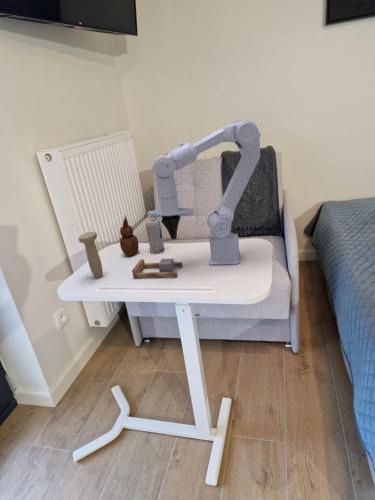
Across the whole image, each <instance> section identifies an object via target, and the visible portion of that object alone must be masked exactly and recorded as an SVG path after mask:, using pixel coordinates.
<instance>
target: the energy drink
mask: <svg viewBox="0 0 375 500" xmlns="http://www.w3.org/2000/svg"><path fill="white" fill-rule="evenodd" d="M145 230H146V234H147V235H146V236H147V240H148V245H149V249H150V253H151V254H160V253H162V252H164V251H165V245H164V239H163V231H162V227H161V222H160V220H159V218H150V219H148V220H146V221H145Z"/></svg>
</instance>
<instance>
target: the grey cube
mask: <svg viewBox="0 0 375 500" xmlns="http://www.w3.org/2000/svg"><path fill="white" fill-rule="evenodd" d="M174 262H175V259H174V258H161V260H160V261H159V262H158V263H159V264H158V265H159V268H158V270H159V271H158V272H176V268H175V265H174Z"/></svg>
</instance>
